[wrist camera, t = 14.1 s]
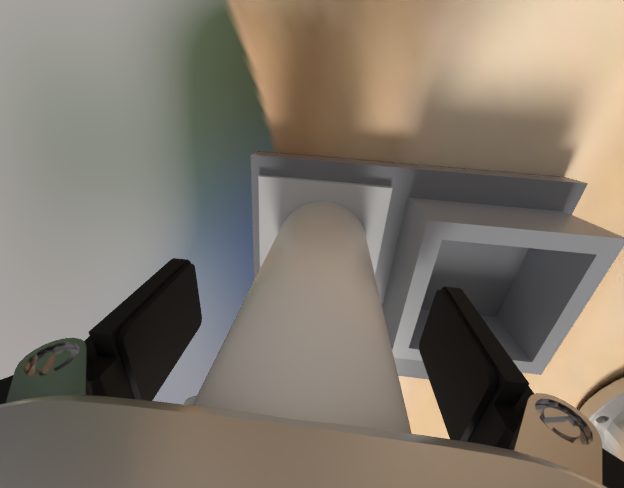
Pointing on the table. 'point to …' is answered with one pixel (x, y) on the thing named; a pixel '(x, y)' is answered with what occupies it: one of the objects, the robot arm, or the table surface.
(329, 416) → the cylinder
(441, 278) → the grey compartment tray
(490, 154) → the table surface
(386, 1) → the table surface
